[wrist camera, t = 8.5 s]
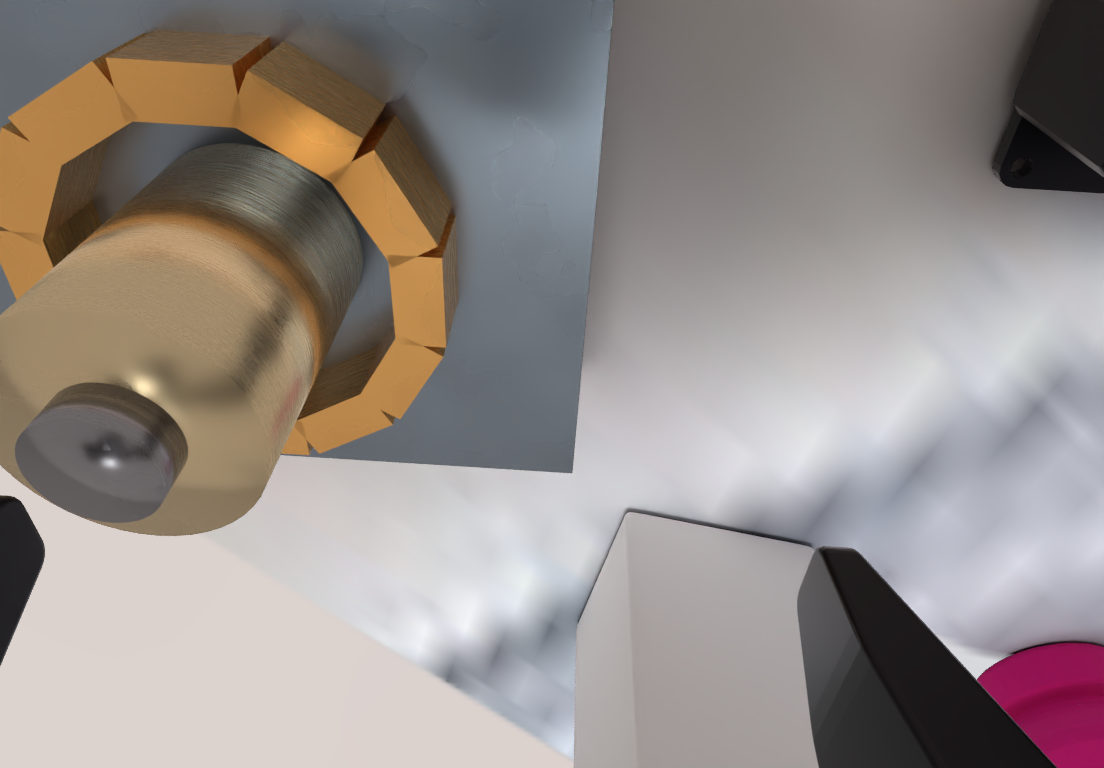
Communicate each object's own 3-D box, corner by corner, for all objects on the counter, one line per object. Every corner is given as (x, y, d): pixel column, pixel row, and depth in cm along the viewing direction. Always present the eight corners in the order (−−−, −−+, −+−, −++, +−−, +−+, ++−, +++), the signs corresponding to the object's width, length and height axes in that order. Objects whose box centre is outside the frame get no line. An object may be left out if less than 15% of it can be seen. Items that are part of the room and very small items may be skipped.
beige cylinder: (350, 150, 15) (214, 356, 9) (372, 339, 17) (275, 583, 12) (122, 135, 15) (-145, 333, 9) (178, 326, 17) (-5, 565, 12)
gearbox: (612, -93, 16) (622, -41, 11) (575, 368, 23) (570, 525, 18) (-201, -142, 16) (-557, -113, 11) (17, 334, 23) (-138, 481, 18)
